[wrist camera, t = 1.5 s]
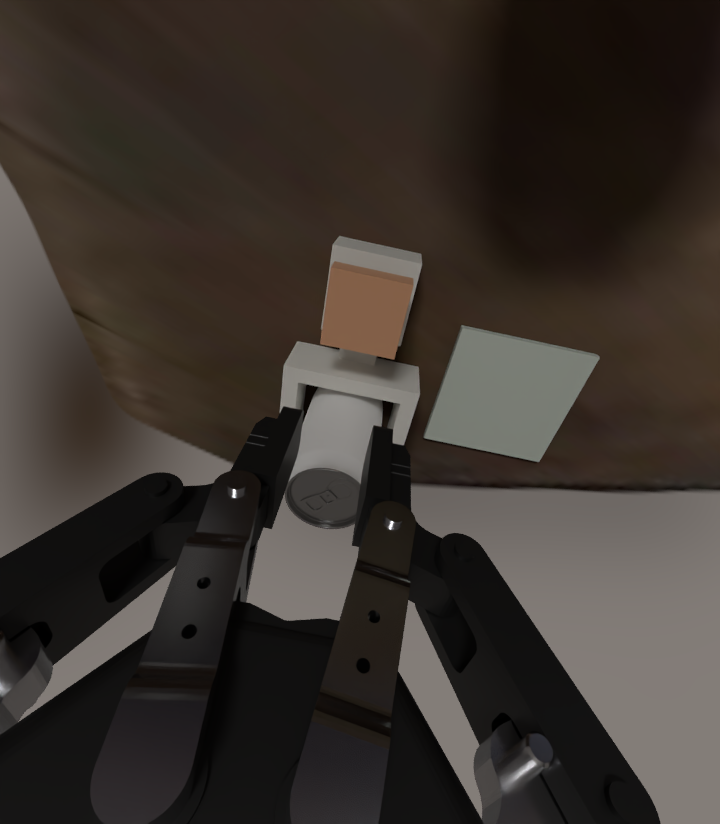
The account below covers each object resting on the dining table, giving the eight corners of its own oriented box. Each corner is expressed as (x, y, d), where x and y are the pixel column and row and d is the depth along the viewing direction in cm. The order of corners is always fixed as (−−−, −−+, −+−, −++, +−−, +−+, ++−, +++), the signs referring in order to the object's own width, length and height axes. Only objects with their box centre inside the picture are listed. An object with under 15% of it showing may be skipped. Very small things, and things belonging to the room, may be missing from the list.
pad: (596, 354, 32) (599, 357, 31) (537, 457, 38) (538, 462, 37) (461, 325, 31) (462, 328, 31) (423, 434, 38) (423, 438, 37)
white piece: (450, 260, 29) (457, 277, 25) (390, 458, 40) (389, 491, 36) (309, 229, 29) (294, 241, 25) (287, 437, 39) (274, 467, 36)
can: (397, 413, 37) (393, 513, 27) (341, 443, 39) (319, 544, 29) (355, 360, 34) (334, 448, 24) (298, 395, 37) (258, 488, 27)
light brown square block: (412, 266, 27) (413, 285, 24) (395, 333, 30) (394, 359, 26) (341, 250, 27) (330, 267, 24) (330, 319, 30) (320, 343, 26)
